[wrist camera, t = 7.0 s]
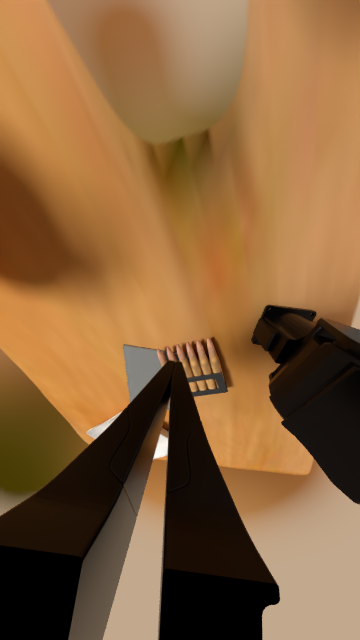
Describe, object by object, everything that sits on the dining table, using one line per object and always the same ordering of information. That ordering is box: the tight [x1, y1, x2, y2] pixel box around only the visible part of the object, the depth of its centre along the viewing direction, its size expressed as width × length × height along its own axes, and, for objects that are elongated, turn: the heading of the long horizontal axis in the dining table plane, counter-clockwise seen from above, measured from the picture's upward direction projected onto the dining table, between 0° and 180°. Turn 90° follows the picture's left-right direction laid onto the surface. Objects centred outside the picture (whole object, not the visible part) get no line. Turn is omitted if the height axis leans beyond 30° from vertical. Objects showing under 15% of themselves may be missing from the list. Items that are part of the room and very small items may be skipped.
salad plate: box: [87, 411, 168, 459], centre depth 39 cm, size 21×21×3 cm
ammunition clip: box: [157, 338, 228, 397], centre depth 24 cm, size 11×2×12 cm
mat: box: [123, 345, 191, 410], centre depth 29 cm, size 13×18×1 cm
